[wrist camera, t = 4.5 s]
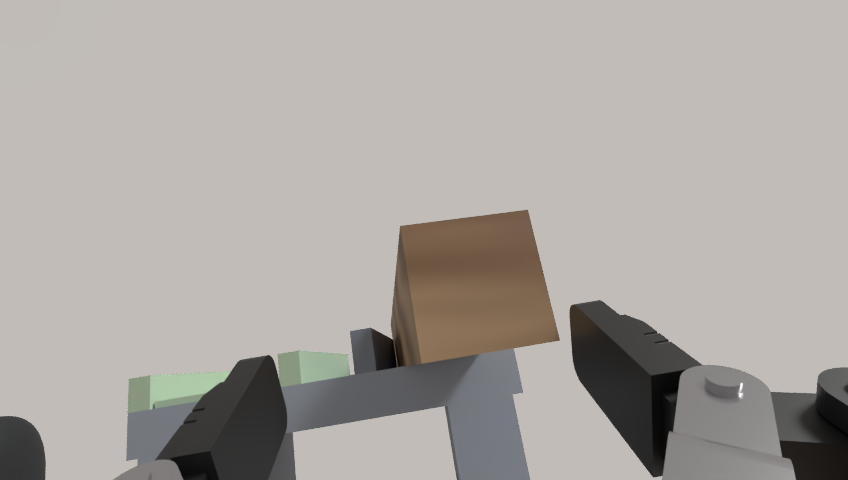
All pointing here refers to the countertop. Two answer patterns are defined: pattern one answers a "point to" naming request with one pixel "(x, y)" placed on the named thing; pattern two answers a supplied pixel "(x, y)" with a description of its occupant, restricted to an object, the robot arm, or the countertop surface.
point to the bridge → (359, 402)
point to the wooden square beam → (469, 289)
